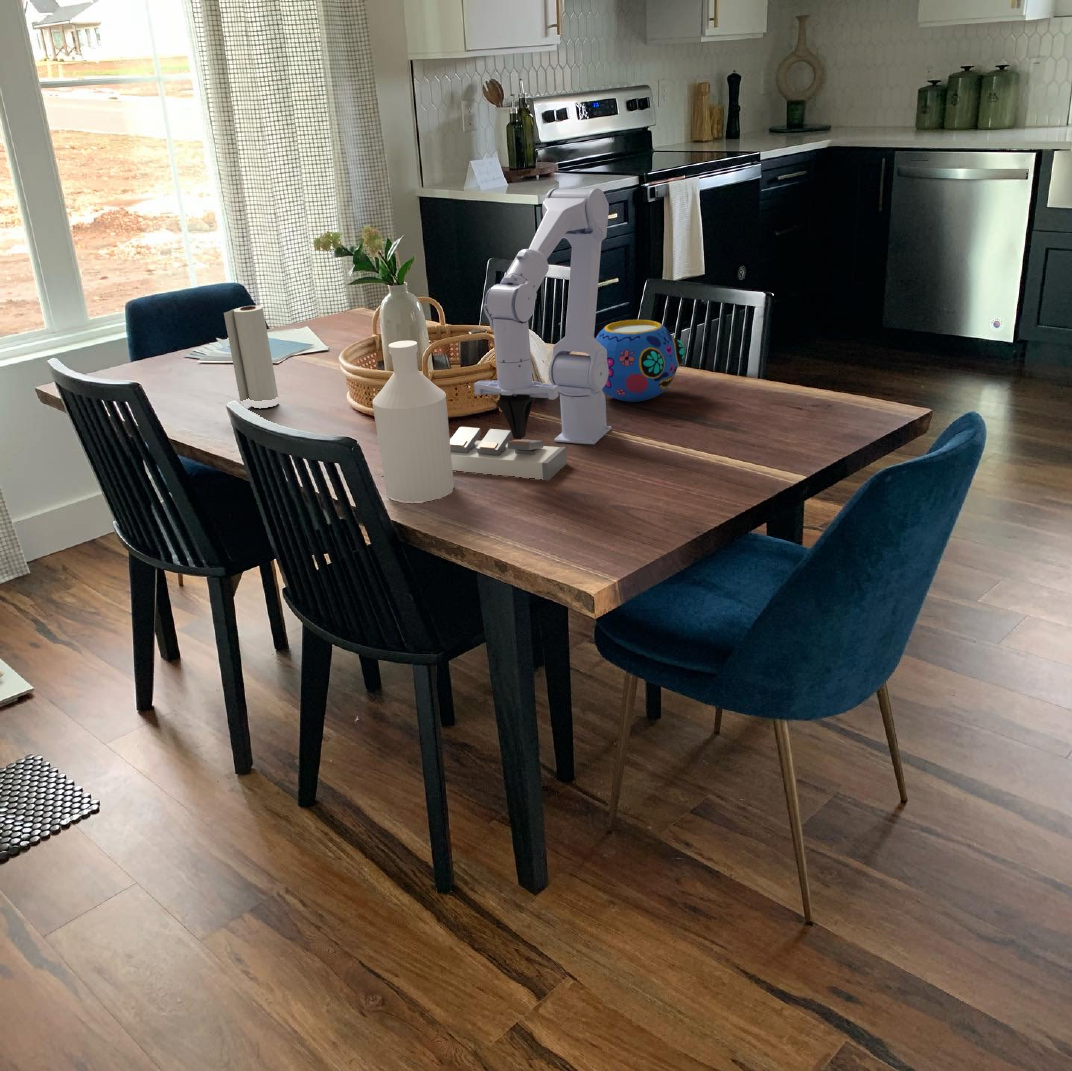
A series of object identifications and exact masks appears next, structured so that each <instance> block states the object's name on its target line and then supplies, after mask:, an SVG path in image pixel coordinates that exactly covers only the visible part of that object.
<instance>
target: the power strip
mask: <svg viewBox="0 0 1072 1071" xmlns="http://www.w3.org/2000/svg"><path fill="white" fill-rule="evenodd" d="M449 438H450V439H451V438H452V437H449ZM481 441H482V440H477V441H476V442H475V443H474V445H473V446H472V447H471V449H470V450H469V452H468V453H462V452H451V461H452V470H458V471H464V472H463V473H466V472H476V473H475V474H477V473H483V474H482V475H487V474H492V475H491V476H498V475H509V476H515V477H514V478H519V477H522V478H521V479H529V478H535V479H534V480H540V479H542V480H541V481H550V480H551V479H552V478H553V477H554V476H555V475H556V474H558V472H560V471H561V470H562V469H563V468H564V467H565V466H567V464H568V461H567V458H568V457H567V447H566V446H550V445H549V446H547V445H543V448H539V449H534V450H518V449H508V443H507V444H506V446H505V447H504V449H503V450H502V451H501V453H500V454H499V456H496V455H485V454H478V453H477V449H476V448H477V447H478V445H479V444H480V442H481ZM560 469H561V470H560Z"/></svg>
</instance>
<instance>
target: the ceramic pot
mask: <svg viewBox="0 0 1072 1071" xmlns="http://www.w3.org/2000/svg"><path fill="white" fill-rule="evenodd" d="M595 339H596V340H597V341H598V342H599V343H600V344H601V345H602V346H603V347H604V348H605V349H606V350H607V364H608V370H609V373H608V379H607V382H606V384H605V386H604V387H603V389H602V391H603V392H604V394H606V395H607V396H609V397H611V398H613V399H616V400H618V401H624V402H629V403H630V402H631V403H636V402H637V403H638V402H644V401H647V400H651V399H653V398H655V397H657V396H659V395H661V394H662V393H664V392H665V391H667V390H668V388H669V387H670V385H671V383H672V382H673V380H674V378H675V376H676V373H677V370H678V368H679V366H680V365H681V364H682V363H683V361H684V359H685V354H686V352H685V346H684V344H683V342H682V341H681V340H679V339H678V338H675V337H674V336H673V335H672V334H671V333H670V332H669V330H668V329H667V327H666V326H664V325H663V323H660V322H658V321H654V320H649V319H625V320H619V321H616V322H611V323H609V324H606V325H605V326H604V327H603V328H602V329H601V330H600V331H599V332H598V333H597V335H596V337H595Z"/></svg>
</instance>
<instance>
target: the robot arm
mask: <svg viewBox="0 0 1072 1071" xmlns="http://www.w3.org/2000/svg"><path fill="white" fill-rule="evenodd" d="M541 208H542V210H541V211H542V217H543V218H542V219H541V220H540V224H539V226H538V228H537V230H536V232H535V234H534V237H533V238H532V241H531V243H530V244H529V247H528V248H524V249H523V248H522V249H521V250H519V251H518V253H517V254H516V255H515V258H514V260H513V261H512V262H511V264H510V266H509V268H508V269H507V271H506V273H505V274H504V276H503V277H502V278H501V281H500V283H496V284H494V285H493V286H491V287H489V289H488V290H487V291H486V294H485V298H484V304H483V311H484V314H485V316H486V317H487V319H488V322H489V328H490V330H491V332H493V337H494V338H493V340H494V349H495V352H494V354H495V362H496V374H497V380H478V381H477V382H474V384H473V387H474V389H473V390H474V395H475V396H481V395H491V396H492V395H494V396H499V398H498V400H496V405H497V406H498V408H499V409H500V410H501V412H502V414H503V416H504V417H505V419H506V422H507V423H508V426H509V428H510V430H511V434H512V438H513V440H521V439H524V438H525V436H526V433H527V426H528V421H529V417H530V413H531V411H532V408H533V406H534V403H535V400H537V398H541V399H548V400H550V401H551V400H555V399H557V398H558V397H559V400H560V419H561V421H560V422H561V433H559V435H557V436H556V437H555V438H554V440H553V441H554V442H557V443H569V444H570V443H571V444H581V445H582V444H583V445H596V443H598V442H599V441H600V440H601V439H602V438H604V436H605V435H606V434H608V432H610V430H612V426H611V425H607V405H606V404H607V403H606V402H607V401H606V395H605V392H603V391H602V389H603V387H604V386H605V384H606V382H607V379H608V373H609V370H608V364H607V350H606V349H605V348H604V347H603V346H602V345H601V344H600V343H599V342H598V341H597V340H596V337H595V328H596V327H595V326H596V317H597V314H596V313H597V304H598V303H597V302H598V290H599V280H600V279H599V278H600V277H599V276H600V268H601V267H600V263H601V254H602V252H601V251H602V241H604V240H605V239H606V238H607V233H608V225H609V224H608V223H609V212H610V211H609V210H610V204H609V202H608V198H607V197H606V195H605V193H604V192H603V190H602V189H601V188H598V187H595V188H585V189H582V188H581V189H580V188H555V187H554V188H551V189H549V191H547V193H546V195H545V197H544V199H543V201H542V207H541ZM563 238H564V239H565V240H567V242H568V243H569V244H570V246H571V252H570V253H571V254H570V256H571V257H570V267H569V268H570V270H569V281H568V282H569V284H568V298H567V310H566V322H565V324H566V325H565V334H564V335H565V336H564V337H562V338H561V339H560V340H558V342H557V343H555V344H554V345H553V346H552V353H551V358H550V361H549V363H548V368H547V369H548V370H547V373H548V374H547V375H548V378H549V381H550V384H549V383H544V382H539V381H535V380H534V381H533V370H532V369H533V367H532V358H531V356H532V354H531V343H530V342H531V340H530V328H529V320H530V319H531V317H532V316H533V314H534V312H535V306H536V300H537V296H538V293H537V292H538V290H539V288H540V286H541V284H542V282H543V281H544V279H545V277H546V276H547V274H548V273H549V269H550V265H549V262H548V258H549V257H550V256H551V254H552V253H553V251H554V250H555V249H556V247H557V246H558V245H559V243H560V242H561V241H562V239H563ZM573 352H574V354H572V353H573ZM575 353H583V354H575ZM584 354H586V355H584Z"/></svg>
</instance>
